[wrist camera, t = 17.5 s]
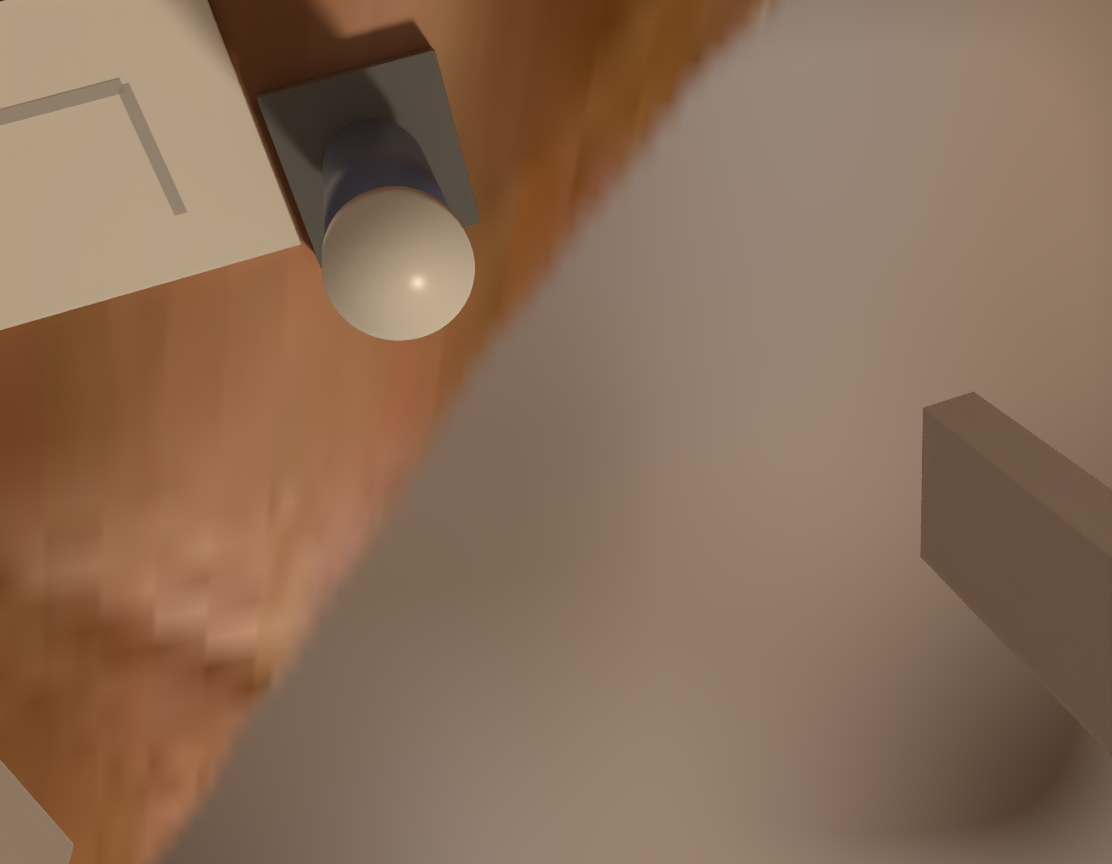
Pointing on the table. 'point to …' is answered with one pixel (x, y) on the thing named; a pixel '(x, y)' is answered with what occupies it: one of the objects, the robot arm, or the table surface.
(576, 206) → the table surface
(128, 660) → the table surface
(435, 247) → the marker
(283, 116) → the coaster
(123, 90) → the paper
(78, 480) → the table surface
